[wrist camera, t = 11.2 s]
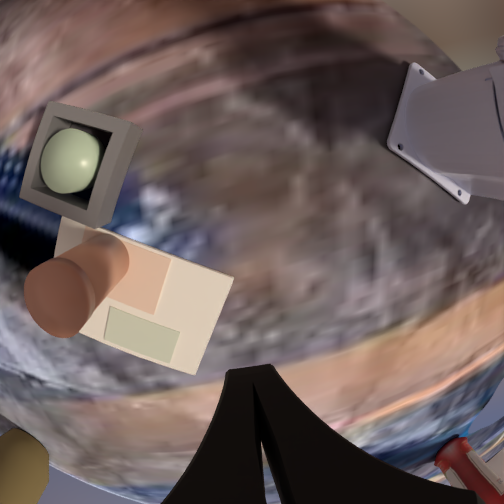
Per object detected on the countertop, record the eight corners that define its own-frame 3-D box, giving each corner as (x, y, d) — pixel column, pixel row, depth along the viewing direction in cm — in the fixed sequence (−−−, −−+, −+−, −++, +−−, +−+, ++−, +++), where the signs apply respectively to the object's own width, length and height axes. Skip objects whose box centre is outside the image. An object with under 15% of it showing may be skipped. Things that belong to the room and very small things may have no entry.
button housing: (143, 129, 15) (131, 122, 13) (110, 222, 16) (95, 229, 14) (67, 108, 14) (49, 100, 12) (39, 194, 15) (19, 197, 13)
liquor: (465, 437, 30) (538, 529, 3) (433, 465, 31) (499, 562, 4) (461, 426, 28) (546, 530, 2) (425, 457, 29) (500, 569, 2)
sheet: (234, 276, 18) (234, 278, 18) (195, 372, 20) (194, 376, 19) (64, 212, 16) (61, 213, 15) (48, 314, 17) (46, 317, 17)
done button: (114, 141, 14) (102, 136, 13) (95, 199, 15) (81, 201, 13) (68, 127, 14) (53, 122, 12) (50, 182, 14) (34, 183, 12)
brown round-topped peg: (135, 242, 16) (89, 282, 10) (124, 290, 17) (81, 348, 10) (89, 225, 16) (26, 253, 9) (80, 273, 16) (23, 320, 10)
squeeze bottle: (68, 468, 22) (38, 574, 4) (25, 456, 21) (-11, 545, 4) (36, 426, 20) (-16, 543, 2) (-6, 415, 19) (-59, 508, 2)
